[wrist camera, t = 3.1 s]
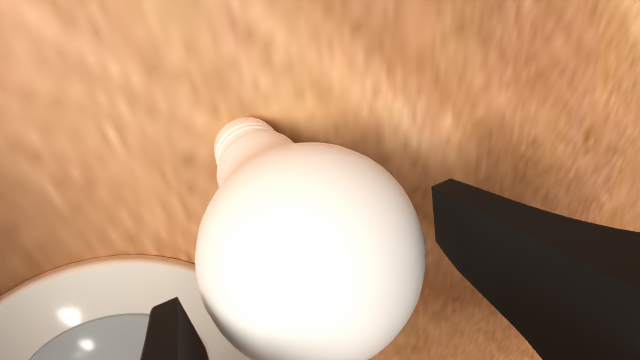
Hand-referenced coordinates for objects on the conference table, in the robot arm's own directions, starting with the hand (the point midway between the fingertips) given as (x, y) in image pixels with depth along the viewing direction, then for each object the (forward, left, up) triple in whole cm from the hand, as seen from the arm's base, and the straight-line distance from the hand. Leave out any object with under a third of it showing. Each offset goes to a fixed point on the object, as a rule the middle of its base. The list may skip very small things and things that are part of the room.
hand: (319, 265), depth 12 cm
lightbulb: (0, 0, -9) cm, 9 cm away
